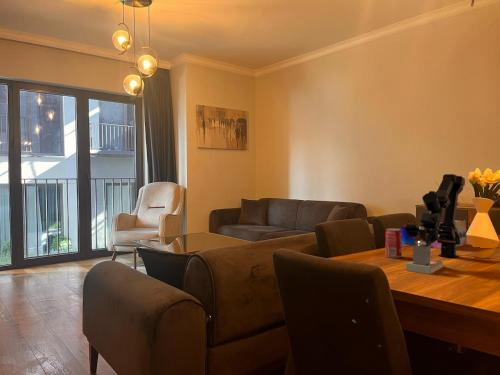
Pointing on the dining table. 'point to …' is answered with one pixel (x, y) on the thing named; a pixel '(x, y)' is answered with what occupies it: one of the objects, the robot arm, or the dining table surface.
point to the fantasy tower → (407, 238)
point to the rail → (424, 267)
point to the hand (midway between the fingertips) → (424, 247)
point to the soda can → (393, 243)
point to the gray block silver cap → (421, 253)
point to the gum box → (461, 231)
